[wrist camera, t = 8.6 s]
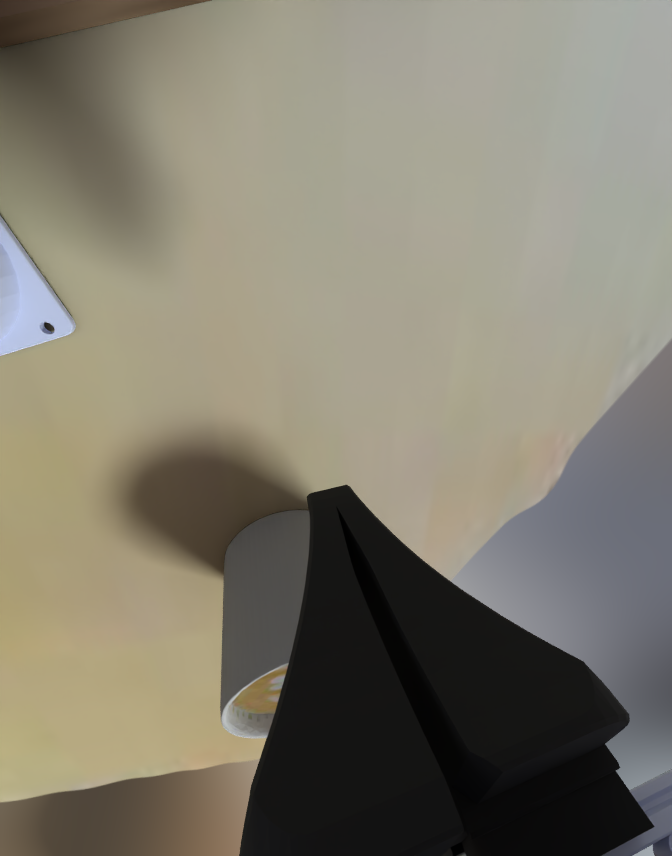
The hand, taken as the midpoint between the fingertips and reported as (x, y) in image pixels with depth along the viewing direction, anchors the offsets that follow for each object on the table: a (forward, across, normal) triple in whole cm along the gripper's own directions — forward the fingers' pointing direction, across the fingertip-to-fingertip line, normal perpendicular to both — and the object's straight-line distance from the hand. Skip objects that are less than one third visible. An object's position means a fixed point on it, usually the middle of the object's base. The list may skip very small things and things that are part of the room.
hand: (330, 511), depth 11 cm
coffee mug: (+11, +1, +16) cm, 20 cm away
